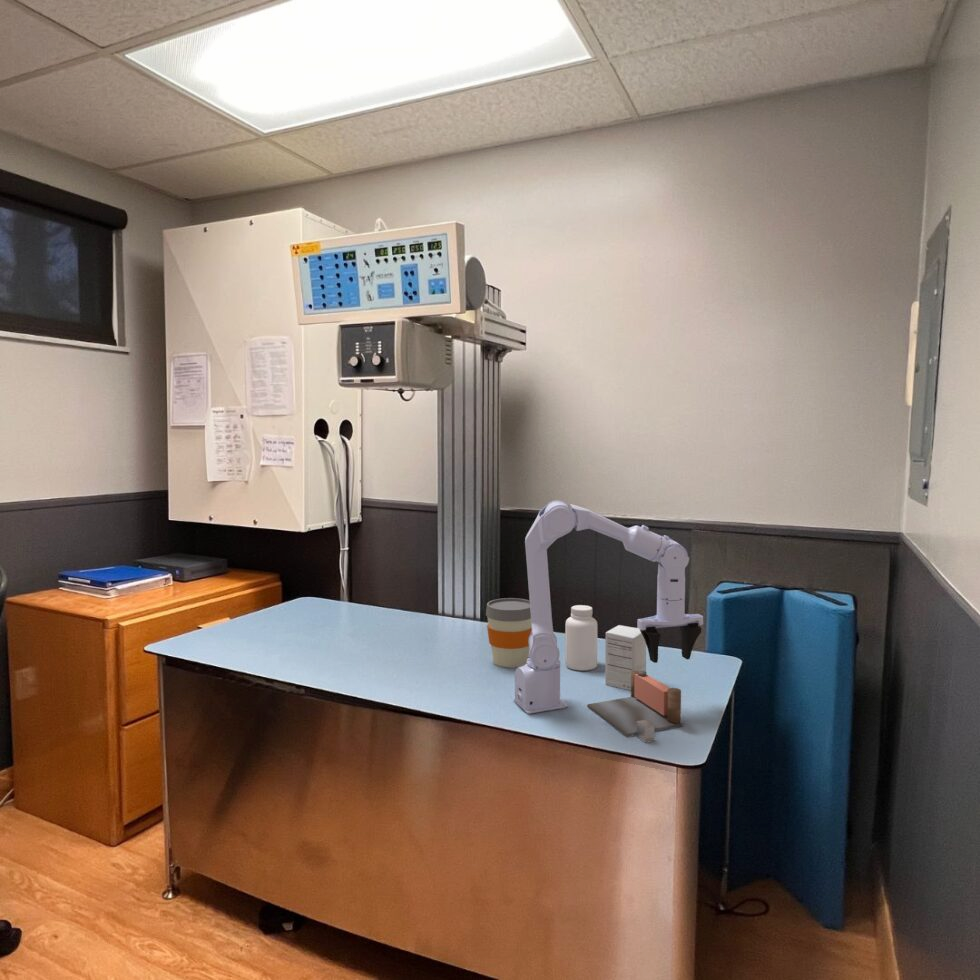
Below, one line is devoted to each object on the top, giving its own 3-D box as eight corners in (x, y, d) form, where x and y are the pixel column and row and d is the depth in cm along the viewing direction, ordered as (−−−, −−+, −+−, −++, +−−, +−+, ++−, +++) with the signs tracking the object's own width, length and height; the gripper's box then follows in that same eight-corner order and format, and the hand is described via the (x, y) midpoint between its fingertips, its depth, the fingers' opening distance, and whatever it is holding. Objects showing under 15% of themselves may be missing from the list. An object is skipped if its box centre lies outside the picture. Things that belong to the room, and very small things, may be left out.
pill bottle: (599, 662, 176) (599, 604, 175) (595, 672, 168) (595, 612, 167) (568, 659, 178) (568, 602, 177) (562, 670, 171) (563, 610, 169)
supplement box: (618, 675, 167) (618, 624, 166) (646, 681, 162) (647, 629, 161) (604, 684, 161) (604, 631, 160) (633, 691, 156) (634, 637, 155)
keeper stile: (645, 742, 131) (645, 727, 131) (636, 736, 134) (636, 721, 134) (654, 740, 132) (654, 725, 132) (645, 734, 135) (645, 719, 134)
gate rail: (663, 715, 140) (664, 688, 140) (634, 696, 150) (634, 671, 150) (673, 713, 141) (673, 686, 141) (643, 694, 151) (644, 669, 151)
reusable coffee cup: (519, 673, 169) (519, 613, 167) (476, 664, 175) (476, 606, 174) (543, 658, 179) (543, 601, 178) (502, 650, 186) (502, 595, 185)
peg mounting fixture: (626, 737, 134) (626, 702, 133) (585, 705, 149) (585, 673, 148) (683, 725, 138) (684, 692, 138) (637, 696, 154) (638, 665, 153)
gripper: (691, 590, 153) (690, 650, 154) (631, 595, 149) (630, 656, 150) (709, 598, 146) (707, 661, 147) (646, 603, 142) (645, 667, 143)
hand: (669, 659), depth 148 cm, fingers open, 7 cm apart
